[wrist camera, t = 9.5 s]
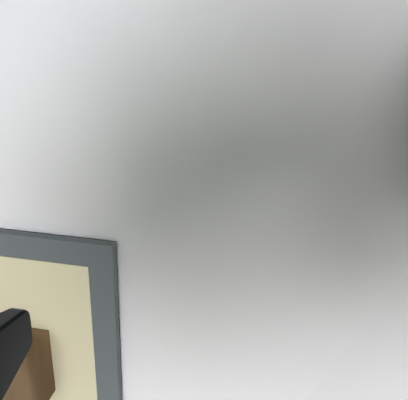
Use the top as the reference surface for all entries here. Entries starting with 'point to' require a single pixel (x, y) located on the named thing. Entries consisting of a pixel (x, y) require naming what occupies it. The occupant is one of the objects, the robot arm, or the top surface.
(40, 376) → the walnut cube
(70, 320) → the slate pad
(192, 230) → the top surface
